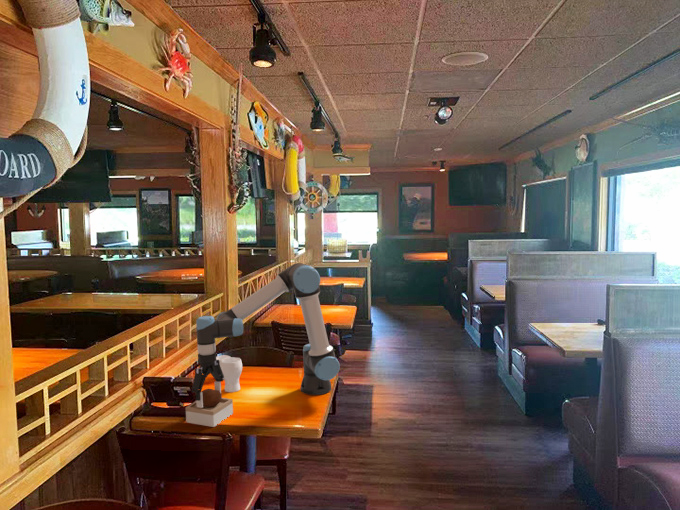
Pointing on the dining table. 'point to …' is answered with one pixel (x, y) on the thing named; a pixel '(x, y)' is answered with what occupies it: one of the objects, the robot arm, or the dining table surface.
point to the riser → (209, 413)
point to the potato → (211, 397)
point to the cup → (231, 373)
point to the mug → (222, 359)
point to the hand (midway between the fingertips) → (209, 401)
